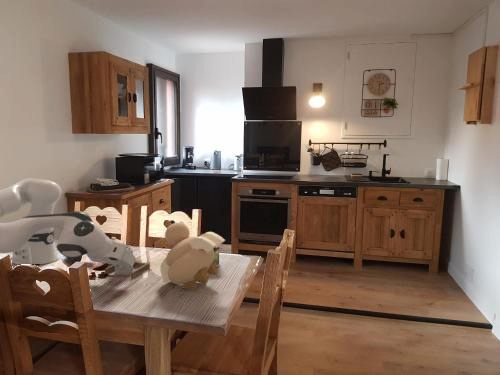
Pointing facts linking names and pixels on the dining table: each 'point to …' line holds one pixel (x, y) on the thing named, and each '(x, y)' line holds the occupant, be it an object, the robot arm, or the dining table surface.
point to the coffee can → (216, 251)
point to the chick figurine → (189, 256)
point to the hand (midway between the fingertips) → (119, 265)
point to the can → (125, 269)
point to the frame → (141, 268)
